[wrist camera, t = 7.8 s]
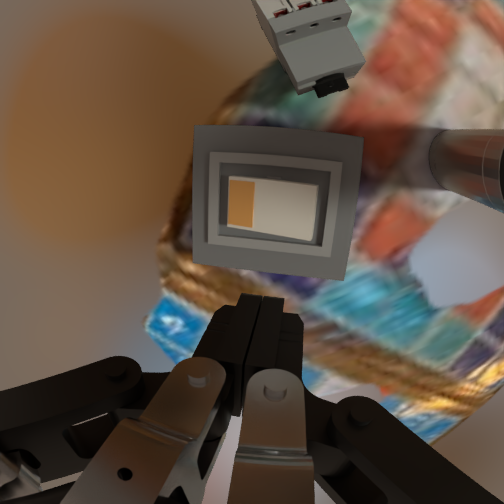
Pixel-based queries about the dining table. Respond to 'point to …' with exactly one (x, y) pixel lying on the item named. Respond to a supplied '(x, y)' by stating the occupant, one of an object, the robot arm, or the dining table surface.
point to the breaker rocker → (272, 206)
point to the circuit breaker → (312, 42)
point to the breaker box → (279, 168)
